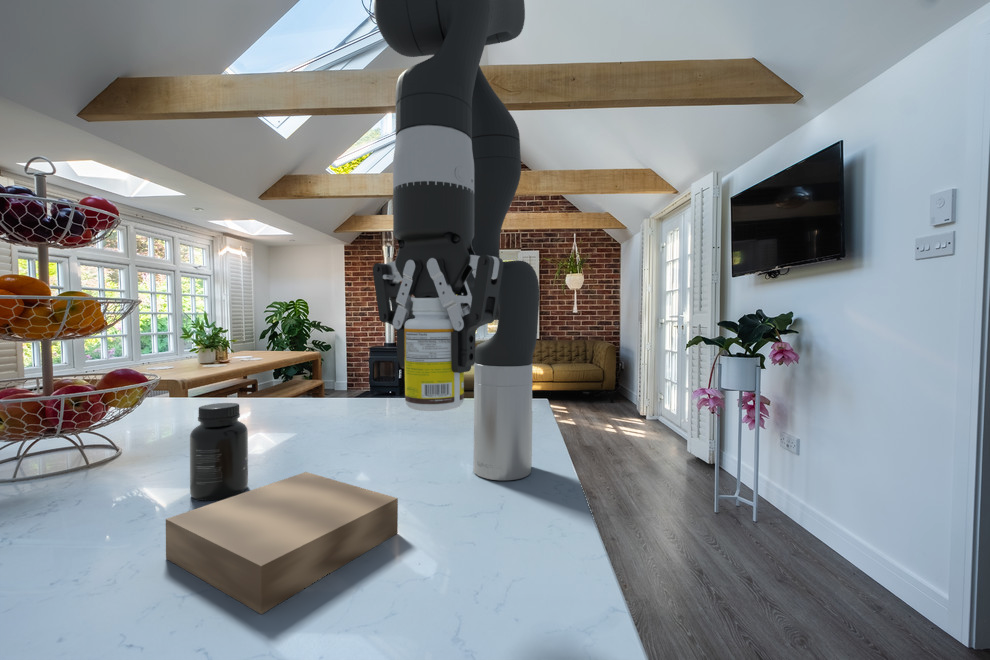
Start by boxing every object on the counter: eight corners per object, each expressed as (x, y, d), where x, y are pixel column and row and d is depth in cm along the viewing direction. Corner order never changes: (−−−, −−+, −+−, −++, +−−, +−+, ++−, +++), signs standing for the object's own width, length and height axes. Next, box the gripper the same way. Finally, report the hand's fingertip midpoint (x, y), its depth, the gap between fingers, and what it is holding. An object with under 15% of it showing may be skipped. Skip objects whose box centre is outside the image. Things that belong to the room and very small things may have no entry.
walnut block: (306, 502, 58) (305, 471, 58) (397, 533, 50) (397, 498, 50) (165, 558, 44) (165, 519, 44) (261, 614, 36) (261, 566, 36)
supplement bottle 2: (436, 398, 46) (436, 299, 46) (475, 405, 42) (476, 298, 42) (392, 406, 42) (391, 298, 41) (432, 415, 38) (432, 296, 38)
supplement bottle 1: (259, 487, 63) (258, 403, 62) (210, 505, 57) (210, 412, 56) (227, 479, 66) (227, 399, 65) (178, 496, 59) (177, 407, 59)
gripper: (521, 189, 41) (520, 370, 42) (403, 207, 48) (403, 362, 49) (477, 165, 34) (477, 381, 35) (348, 190, 42) (350, 369, 42)
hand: (434, 369), depth 42 cm, fingers closed on supplement bottle 2, 5 cm apart
